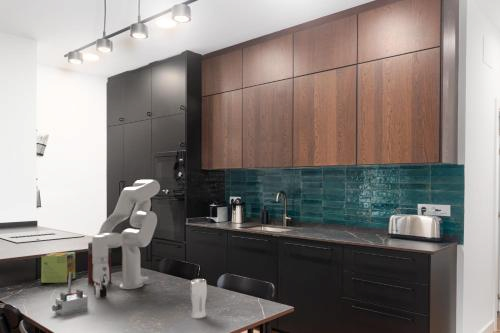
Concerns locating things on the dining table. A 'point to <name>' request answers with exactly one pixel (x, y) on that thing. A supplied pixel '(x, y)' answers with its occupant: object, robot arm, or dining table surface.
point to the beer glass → (198, 297)
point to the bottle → (98, 290)
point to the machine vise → (71, 303)
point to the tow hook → (69, 286)
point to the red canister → (90, 264)
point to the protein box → (57, 267)
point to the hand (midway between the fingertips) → (100, 295)
